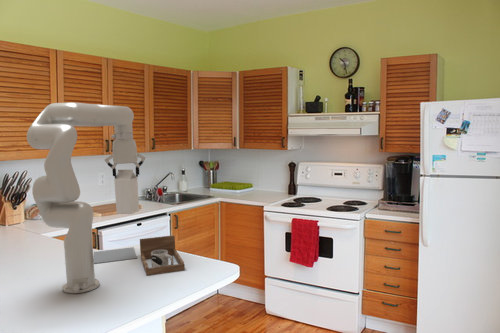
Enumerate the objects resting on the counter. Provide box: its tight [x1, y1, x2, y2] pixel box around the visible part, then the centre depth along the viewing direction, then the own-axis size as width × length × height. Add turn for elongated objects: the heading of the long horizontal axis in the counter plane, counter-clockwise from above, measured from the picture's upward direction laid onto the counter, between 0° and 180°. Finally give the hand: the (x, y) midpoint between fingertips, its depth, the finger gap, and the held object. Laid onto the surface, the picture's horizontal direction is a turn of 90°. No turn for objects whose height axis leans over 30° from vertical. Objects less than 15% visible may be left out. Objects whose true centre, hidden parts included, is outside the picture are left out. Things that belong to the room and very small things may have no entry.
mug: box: [151, 250, 174, 268], centre depth 177 cm, size 10×7×7 cm
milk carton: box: [114, 169, 140, 215], centre depth 190 cm, size 7×7×19 cm
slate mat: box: [93, 246, 138, 265], centre depth 197 cm, size 18×18×1 cm
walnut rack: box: [139, 234, 186, 276], centre depth 182 cm, size 22×15×9 cm, turn 19°
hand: (126, 177), depth 190 cm, fingers closed on milk carton, 8 cm apart
